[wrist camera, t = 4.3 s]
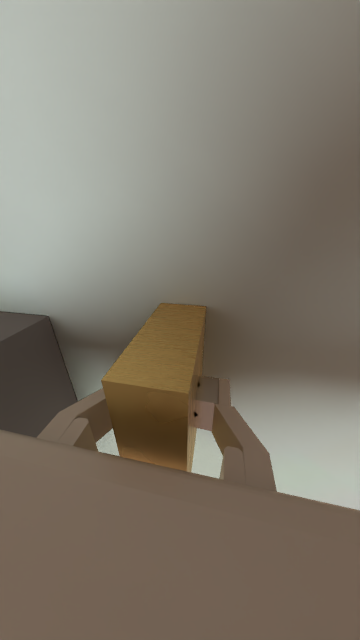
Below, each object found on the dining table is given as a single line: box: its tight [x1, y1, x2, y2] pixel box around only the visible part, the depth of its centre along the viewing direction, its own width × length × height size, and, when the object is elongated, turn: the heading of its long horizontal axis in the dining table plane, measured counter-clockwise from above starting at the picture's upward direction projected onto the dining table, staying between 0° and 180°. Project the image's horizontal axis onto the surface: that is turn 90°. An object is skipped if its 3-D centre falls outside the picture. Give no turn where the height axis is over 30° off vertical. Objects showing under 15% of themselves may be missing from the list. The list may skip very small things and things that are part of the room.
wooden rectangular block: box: [101, 303, 206, 472], centre depth 9 cm, size 7×2×6 cm, turn 0°
